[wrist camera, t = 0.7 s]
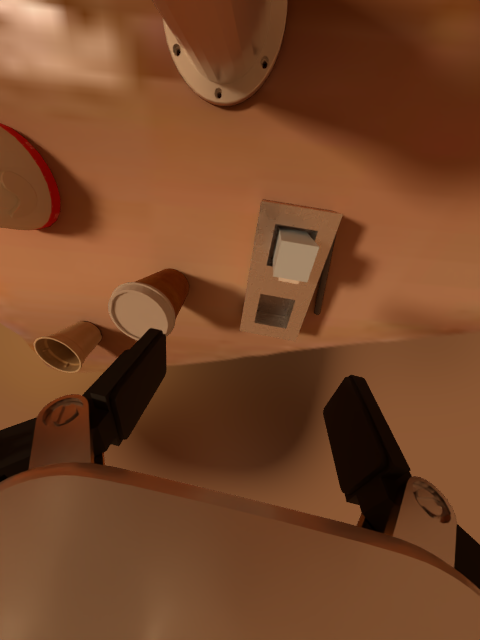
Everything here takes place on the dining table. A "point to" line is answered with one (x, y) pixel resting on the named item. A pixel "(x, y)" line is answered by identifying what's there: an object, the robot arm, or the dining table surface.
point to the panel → (264, 289)
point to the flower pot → (68, 346)
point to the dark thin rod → (323, 281)
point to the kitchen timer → (25, 185)
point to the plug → (293, 255)
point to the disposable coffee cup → (149, 303)
